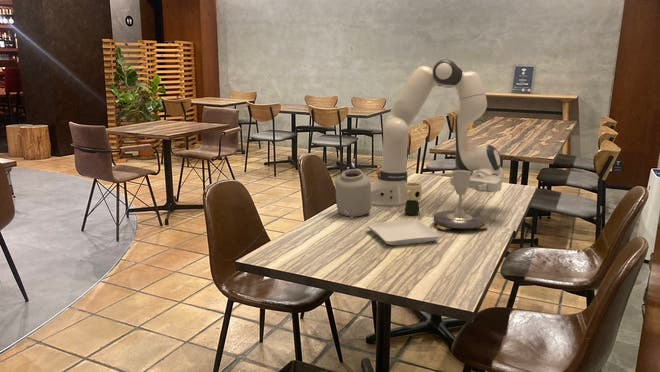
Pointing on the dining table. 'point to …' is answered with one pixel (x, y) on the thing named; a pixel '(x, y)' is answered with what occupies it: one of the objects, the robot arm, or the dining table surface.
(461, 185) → the chalice
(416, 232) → the salad plate
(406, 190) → the character mug
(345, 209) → the jar
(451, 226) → the plate
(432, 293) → the dining table surface
